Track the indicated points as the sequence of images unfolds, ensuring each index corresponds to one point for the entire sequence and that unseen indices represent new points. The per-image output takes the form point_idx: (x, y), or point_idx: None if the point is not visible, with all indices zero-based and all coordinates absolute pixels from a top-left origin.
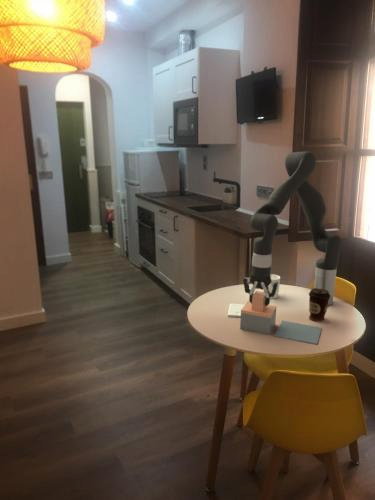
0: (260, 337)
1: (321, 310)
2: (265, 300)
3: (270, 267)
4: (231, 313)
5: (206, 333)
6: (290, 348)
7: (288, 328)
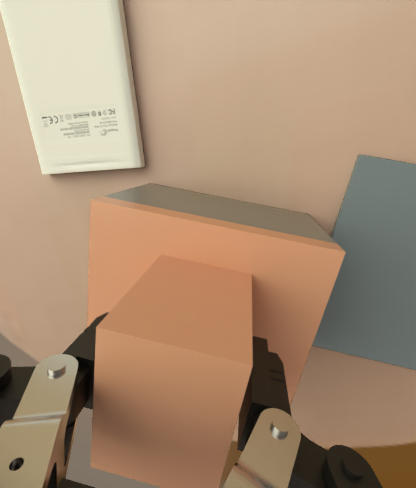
0: None
1: None
2: (239, 416)
3: None
4: (52, 152)
5: (31, 353)
6: (358, 421)
7: (383, 260)
